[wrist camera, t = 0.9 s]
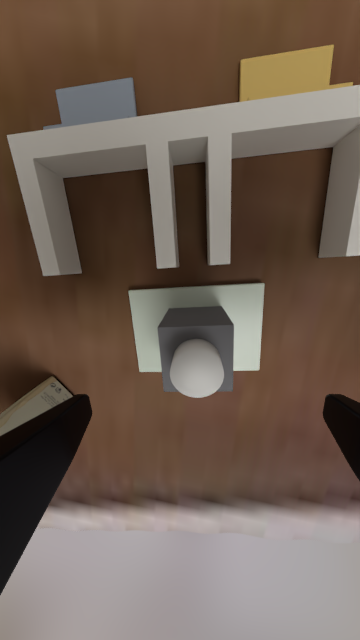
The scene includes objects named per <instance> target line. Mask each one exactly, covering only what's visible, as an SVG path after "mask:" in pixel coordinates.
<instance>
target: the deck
mask: <svg viewBox="0 0 360 640" xmlns="http://www.w3.org/2000/svg"><path fill="white" fill-rule="evenodd" d="M264 284H265V283H246V284H228V285H210V286H192V287H174V288H156V289H138V290H129V291H128V292H129V299H130V306H131V313H132V321H133V328H134V335H135V342H136V349H137V356H138V364H139V371H140V372H162V368H161V358H160V348H159V338H158V329H157V327H158V326H159V324H160V322H161V321H162V319H163V317H164V316H165V314H166V312H167V311H168V309H169V308H188V307H210V306H222V307H223V309H224V310H225V312H226V313H227V315H228V316H229V318H230V319H231V321H232V323H233V324H234V355H233V371H244V370H259V365H260V349H261V333H262V317H263V300H264Z"/></svg>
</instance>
